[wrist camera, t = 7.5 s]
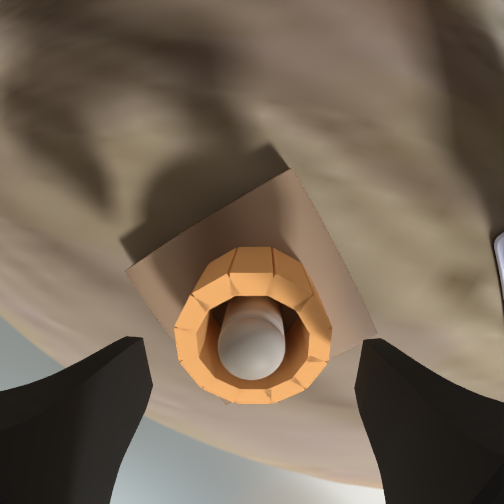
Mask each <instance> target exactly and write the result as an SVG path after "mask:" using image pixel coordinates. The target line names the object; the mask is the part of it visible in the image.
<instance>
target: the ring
mask: <svg viewBox="0 0 504 504" xmlns="http://www.w3.org/2000/svg"><path fill="white" fill-rule="evenodd" d="M234 296H269V297H271V298H273V299H275V300H277V301H279V302H281V303H283V304H285V305H287V306H288V307H290V308H292V309H294V310H296V312H297V313H298V315H299V317H298V319H297V320H296V321H295V323H294V324H293V326H292V327H291V329H290V330H289V331H288V333H287V334H286V335H284V338H285V354H284V357H283V360H282V362H281V364H280V365H279V367H278V368H277V369H276V370H275V371H274V372H273V373H272V374H270V375H269V376H267V377H264V378H262V379H258V380H245V379H241V378H238V377H236V376H234V375H233V374H231V373H230V372H229V371H228V370H227V369H226V368H225V367H224V366H223V364H222V362H221V360H220V358H219V355H218V340H219V336H220V332H221V328H220V326H219V325H218V323H217V322H216V321H215V319H214V318H213V314H212V308H214V307H216V306H217V305H219V304H221V303H223V302H225V301H227V300H229V299H231V298H232V297H234ZM174 332H175V339H176V346H177V353H178V359H179V360H180V363H181V365H182V366H183V367H184V368H185V369H186V371H187V372H188V373H189V374H190V375H191V377H192V378H193V379H194V380H195V381H196V383H197V384H198V385H199V386H200V387H203V389H204V390H206V391H208V392H210V393H212V394H215V395H217V396H219V397H221V398H224V399H226V400H228V401H231V402H233V403H234V402H235V401H236V403H238V404H271V401H272V402H273V403H276V402H278V401H281V400H283V399H285V398H288V397H290V396H292V395H295V394H297V393H299V392H301V391H304V390H305V388H308V387H309V385H310V384H311V383H312V382H313V381H314V379H315V378H316V377H317V376H318V375H319V373H320V372H321V371H322V370H323V368H324V367H325V366H326V365H327V361H329V354H330V345H331V336H332V325H331V323H330V321H329V318H328V316H327V313H326V311H325V308H324V306H323V303H322V301H321V299H320V296H319V294H318V291H317V289H316V288H315V286H314V284H313V282H312V280H311V279H310V277H309V275H308V273H307V271H306V270H305V268H304V266H303V264H301V263H300V262H299V261H297V260H295V259H293V258H291V257H290V256H288V255H286V254H284V253H282V252H281V251H279V250H277V249H275V248H272V250H271V247H238V249H237V248H235V249H233V250H231V251H229V252H228V253H226V254H224V255H222V256H221V257H219V258H217V259H216V260H214V261H212V262H210V263H209V264H208V265H207V267H206V269H205V270H204V272H203V274H202V275H201V277H200V279H199V281H198V282H197V284H196V286H195V288H194V289H193V291H192V293H191V294H190V296H189V298H188V300H187V302H186V304H185V306H184V308H183V310H182V312H181V314H180V316H179V318H178V320H177V322H176V324H175V327H174Z"/></svg>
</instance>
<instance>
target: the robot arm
mask: <svg viewBox="0 0 504 504" xmlns="http://www.w3.org/2000/svg"><path fill="white" fill-rule="evenodd" d="M494 249H495V254H496V258H497V263H498V268H499V273H500V279H501V285H502V291H503V298H504V232H503V233H502V234H500V235H499V236H498V237H497V238H496V240H495V242H494ZM152 387H153V383H152V379H151V374H150V370H149V365H148V361H147V356H146V351H145V346H144V341H143V338H140V337H129V336H126V337H124V338H122V339H120V340H118V341H116V342H114V343H112V344H110V345H108V346H106V347H105V348H103V349H101V350H99V351H98V352H96V353H94V354H92V355H90V356H89V357H87V358H85V359H83V360H81V361H79V362H77V363H75V364H73V365H71V366H70V367H68V368H66V369H64V370H62V371H60V372H58V373H55V374H53V375H51V376H48V377H46V378H44V379H41V380H38V381H35V382H33V383H30V384H27V385H23V386H19V387H16V388H12V389H8V390H4V391H0V504H109V503H110V499H111V495H112V491H113V487H114V484H115V481H116V477H117V473H118V471H119V467H120V465H121V462H122V460H123V457H124V455H125V453H126V451H127V448H128V446H129V444H130V442H131V440H132V438H133V436H134V433H135V432H136V429H137V427H138V425H139V423H140V421H141V419H142V417H143V414H144V412H145V410H146V407H147V404H148V401H149V398H150V394H151V391H152ZM354 389H355V394H356V399H357V404H358V408H359V413H360V416H361V418H362V421H363V424H364V427H365V430H366V432H367V435H368V438H369V441H370V443H371V446H372V449H373V452H374V455H375V457H376V460H377V463H378V467H379V470H380V474H381V479H382V484H383V489H384V495H385V501H386V504H504V402H500V401H497V400H494V399H491V398H488V397H485V396H482V395H479V394H477V393H474V392H472V391H470V390H467V389H465V388H463V387H461V386H458V385H456V384H454V383H452V382H450V381H449V380H447V379H445V378H443V377H441V376H440V375H438V374H436V373H434V372H433V371H431V370H429V369H428V368H426V367H425V366H423V365H421V364H420V363H418V362H417V361H415V360H414V359H412V358H411V357H409V356H408V355H406V354H405V353H403V352H402V351H400V350H399V349H397V348H396V347H394V346H393V345H391V344H390V343H388V342H386V341H385V340H383V339H381V338H378V339H364V340H363V345H362V351H361V357H360V362H359V368H358V373H357V378H356V383H355V387H354Z"/></svg>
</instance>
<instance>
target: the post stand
mask: <svg viewBox="0 0 504 504" xmlns="http://www.w3.org/2000/svg"><path fill="white" fill-rule="evenodd" d="M238 247H271V250H272V248H275V249H277V250H279V251H281V252H282V253H284V254H286V255H288V256H290V257H291V258H293V259H295V260H297V261H299V262H300V263H301V264H303V266H304V268H305V270H306V271H307V273H308V275H309V277H310V279H311V280H312V282H313V284H314V286H315V288H316V289H317V291H318V294H319V296H320V299H321V301H322V303H323V306H324V308H325V311H326V313H327V316H328V318H329V321H330V323H331V325H332V336H331V345H330V354H329V359H331V358H333V357H335V356H337V355H339V354H341V353H343V352H345V351H347V350H349V349H350V348H352V347H354V346H356V345H358V344H360V343H361V342H363V340H364V339H369V338H370V337H372V336H374V335H376V334H378V332H377V330H376V328H375V326H374V324H373V321H372V319H371V317H370V315H369V313H368V311H367V308H366V306H365V304H364V302H363V300H362V298H361V296H360V294H359V292H358V290H357V287H356V285H355V283H354V281H353V279H352V277H351V275H350V273H349V271H348V269H347V267H346V265H345V263H344V261H343V259H342V257H341V255H340V253H339V252H338V250H337V248H336V246H335V244H334V242H333V240H332V238H331V236H330V234H329V232H328V231H327V229H326V227H325V225H324V223H323V221H322V219H321V218H320V216H319V214H318V212H317V210H316V208H315V207H314V205H313V203H312V201H311V199H310V198H309V196H308V194H307V192H306V191H305V189H304V187H303V185H302V184H301V182H300V180H299V178H298V177H297V175H296V173H295V171H294V170H293V168H289V169H287V170H286V171H284V172H282V173H280V174H279V175H277V176H275V177H273V178H272V179H270V180H268V181H266V182H265V183H263V184H261V185H259V186H258V187H256V188H254V189H253V190H251V191H249V192H248V193H246V194H244V195H243V196H241V197H239V198H237V199H236V200H234V201H232V202H231V203H229V204H228V205H226V206H224V207H223V208H221V209H219V210H218V211H216V212H214V213H213V214H211V215H209V216H208V217H206V218H205V219H203V220H201V221H200V222H198V223H197V224H195V225H193V226H192V227H190V228H189V229H187V230H185V231H184V232H182V233H181V234H179V235H178V236H176V237H174V238H173V239H171V240H170V241H168V242H167V243H165V244H164V245H162V246H160V247H159V248H157V249H156V250H154V251H153V252H151V253H150V254H148V255H147V256H145V257H144V258H142V259H141V260H139V261H138V262H136V263H135V264H134V265H132V266H131V267H130V268H128V269H127V270H126V271H124V272H125V273H126V275H127V276H128V278H129V279H130V281H131V282H132V284H133V285H134V287H135V288H136V290H137V291H138V292H139V294H140V295H141V297H142V298H143V300H144V301H145V303H146V304H147V305H148V307H149V308H150V310H151V311H152V312H153V314H154V315H155V317H156V318H157V319H158V321H159V322H160V324H161V325H162V326H163V328H164V329H165V330H166V332H167V333H168V334H169V336H170V337H171V338H172V340H173V341H174V342H175V344H176V339H175V332H174V327H175V324H176V322H177V320H178V318H179V316H180V314H181V312H182V310H183V308H184V306H185V304H186V302H187V300H188V298H189V296H190V294H191V293H192V291H193V289H194V288H195V286H196V284H197V282H198V281H199V279H200V277H201V275H202V274H203V272H204V270H205V269H206V267H207V265H208V264H209V263H210V262H212V261H214V260H216V259H217V258H219V257H221V256H222V255H224V254H226V253H228V252H229V251H231V250H233V249H235V248H237V249H238ZM212 314H213V318H214V319H215V321H216V322H217V323H218V325H219V326H220V328H221V332H220V336H219V340H218V355H219V358H220V360H221V362H222V364H223V366H224V367H225V368H226V369H227V370H228V371H229V372H230V373H231V374H233V375H234V376H236V377H238V378H241V379H245V380H258V379H262V378H264V377H267V376H269V375H270V374H272V373H273V372H274V371H275V370H276V369H277V368H278V367H279V365H280V364H281V362H282V360H283V357H284V354H285V338H284V335H286V334H287V333H288V331H289V330H290V329H291V327H292V326H293V324H294V323H295V321H296V320H297V319H298V317H299V315H298V313H297V312H296V310H294V309H292V308H290V307H288V306H287V305H285V304H283V303H281V302H279V301H277V300H275V299H273V298H271V297H269V296H234V297H232V298H231V299H229V300H227V301H225V302H223V303H221V304H219V305H217V306H216V307H214V308H212ZM220 399H221V400H222V401H223V402H224V403H225V404H226V405H227V404H229V403H232V402H231V401H228V400H226V399H224V398H221V397H220Z"/></svg>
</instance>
